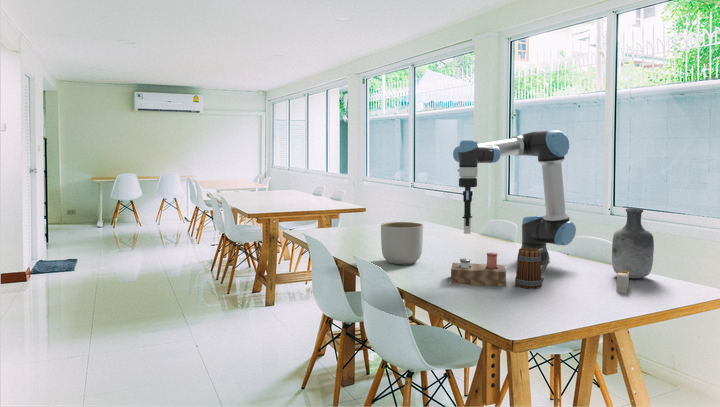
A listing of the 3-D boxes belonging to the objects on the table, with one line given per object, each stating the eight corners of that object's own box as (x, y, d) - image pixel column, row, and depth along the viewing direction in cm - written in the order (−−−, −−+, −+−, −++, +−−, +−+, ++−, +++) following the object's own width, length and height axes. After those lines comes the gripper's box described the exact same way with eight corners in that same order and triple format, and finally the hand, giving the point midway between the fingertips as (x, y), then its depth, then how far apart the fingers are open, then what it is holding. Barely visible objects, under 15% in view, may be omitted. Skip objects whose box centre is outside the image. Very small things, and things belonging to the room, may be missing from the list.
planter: (374, 265, 256) (374, 226, 254) (388, 257, 275) (388, 221, 273) (416, 268, 248) (416, 228, 246) (427, 260, 267) (427, 223, 266)
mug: (528, 290, 208) (529, 252, 207) (509, 284, 218) (510, 248, 216) (556, 285, 216) (557, 249, 214) (537, 280, 225) (538, 245, 223)
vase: (618, 271, 241) (621, 206, 238) (657, 277, 229) (660, 208, 227) (605, 277, 230) (607, 208, 227) (644, 283, 218) (648, 211, 215)
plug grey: (470, 279, 226) (470, 258, 225) (469, 281, 222) (470, 260, 221) (459, 279, 227) (460, 258, 226) (459, 281, 223) (459, 260, 222)
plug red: (496, 273, 224) (497, 252, 223) (497, 276, 219) (497, 254, 218) (486, 273, 224) (486, 252, 224) (486, 275, 220) (486, 254, 219)
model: (616, 293, 206) (617, 273, 205) (619, 287, 215) (620, 268, 214) (625, 294, 204) (626, 274, 203) (628, 288, 213) (629, 269, 212)
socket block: (504, 278, 228) (504, 264, 227) (505, 286, 214) (506, 271, 214) (452, 276, 233) (452, 262, 232) (450, 283, 219) (451, 269, 218)
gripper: (459, 176, 228) (458, 230, 230) (458, 178, 215) (457, 235, 217) (477, 176, 226) (476, 231, 228) (477, 178, 213) (476, 236, 215)
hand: (467, 233), depth 223 cm, fingers closed
